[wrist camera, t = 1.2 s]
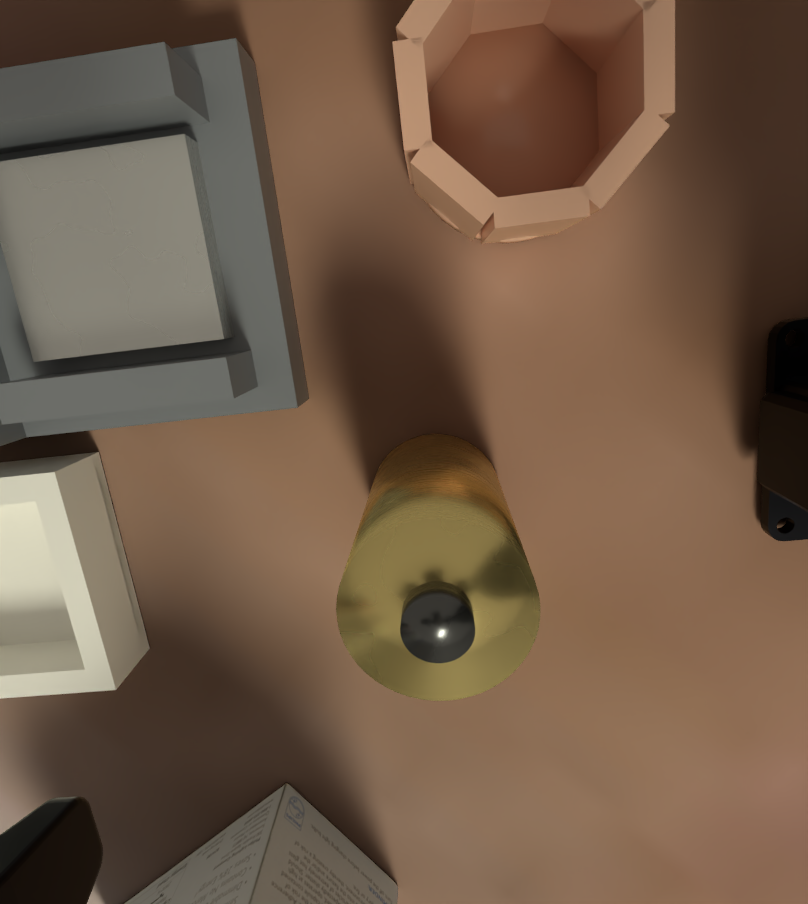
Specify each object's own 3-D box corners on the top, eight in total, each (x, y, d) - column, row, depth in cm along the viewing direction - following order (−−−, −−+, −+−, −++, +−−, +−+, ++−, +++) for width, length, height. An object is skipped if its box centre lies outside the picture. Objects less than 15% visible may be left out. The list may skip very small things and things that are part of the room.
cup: (613, -8, 14) (677, -117, 11) (619, 229, 16) (677, 207, 12) (392, 27, 15) (378, -66, 11) (416, 255, 16) (411, 241, 12)
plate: (197, 142, 14) (184, 133, 14) (233, 337, 16) (223, 338, 15) (2, 171, 15) (-22, 164, 14) (53, 359, 16) (33, 361, 15)
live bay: (98, 451, 18) (54, 472, 16) (149, 648, 20) (115, 689, 18) (-109, 474, 19) (-179, 496, 17) (-41, 663, 21) (-96, 705, 18)
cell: (494, 427, 17) (539, 520, 10) (504, 549, 18) (551, 714, 11) (364, 441, 18) (315, 541, 10) (381, 559, 19) (347, 728, 11)
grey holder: (254, 63, 15) (179, -36, 11) (308, 398, 17) (265, 432, 13) (-129, 123, 16) (-348, 55, 12) (-31, 435, 18) (-181, 480, 14)
